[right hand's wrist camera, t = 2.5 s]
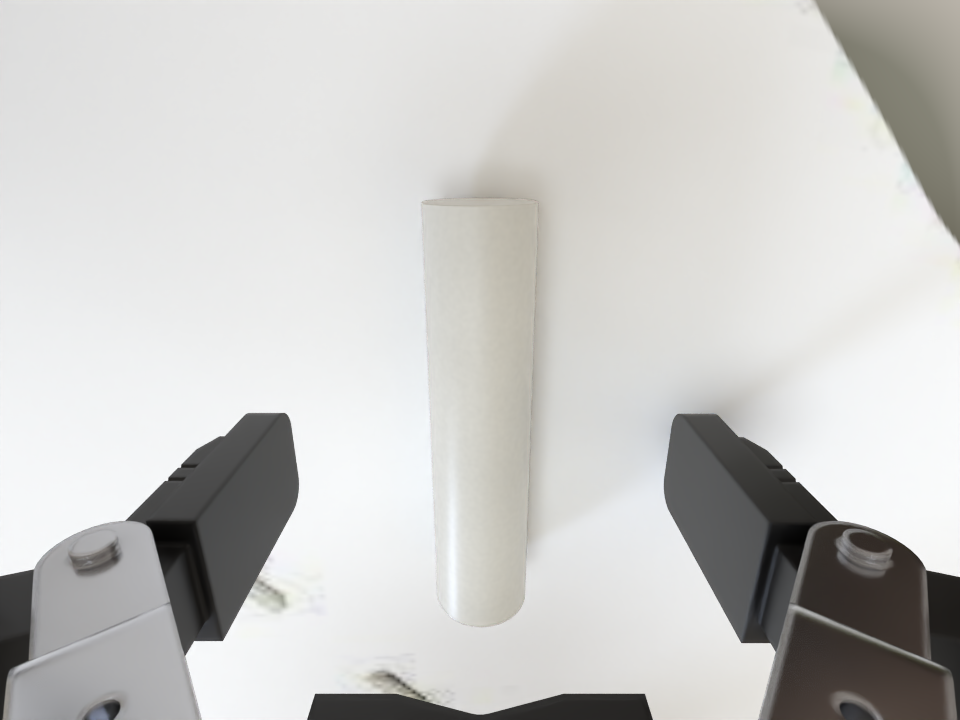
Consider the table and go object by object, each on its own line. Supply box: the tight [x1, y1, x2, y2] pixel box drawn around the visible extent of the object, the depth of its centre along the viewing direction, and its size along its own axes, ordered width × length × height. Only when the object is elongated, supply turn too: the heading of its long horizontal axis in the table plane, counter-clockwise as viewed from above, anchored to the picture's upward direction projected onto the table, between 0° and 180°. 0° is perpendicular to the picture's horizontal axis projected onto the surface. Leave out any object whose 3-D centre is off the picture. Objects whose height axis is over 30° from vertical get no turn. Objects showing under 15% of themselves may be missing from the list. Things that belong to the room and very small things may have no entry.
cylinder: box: [421, 198, 539, 627], centre depth 32 cm, size 26×6×6 cm, turn 0°
